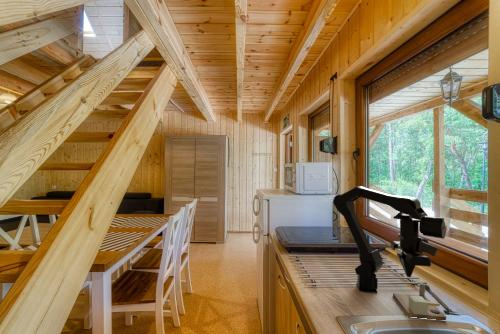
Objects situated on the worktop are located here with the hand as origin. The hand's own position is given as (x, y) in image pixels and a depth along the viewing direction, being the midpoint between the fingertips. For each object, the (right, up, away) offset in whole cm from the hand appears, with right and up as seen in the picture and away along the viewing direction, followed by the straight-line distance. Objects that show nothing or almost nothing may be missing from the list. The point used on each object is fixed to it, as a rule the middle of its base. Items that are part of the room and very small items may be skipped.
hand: (408, 276), depth 93 cm
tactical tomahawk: (+14, -11, +3) cm, 18 cm away
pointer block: (+1, -8, -8) cm, 11 cm away
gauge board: (+1, -10, -3) cm, 10 cm away
